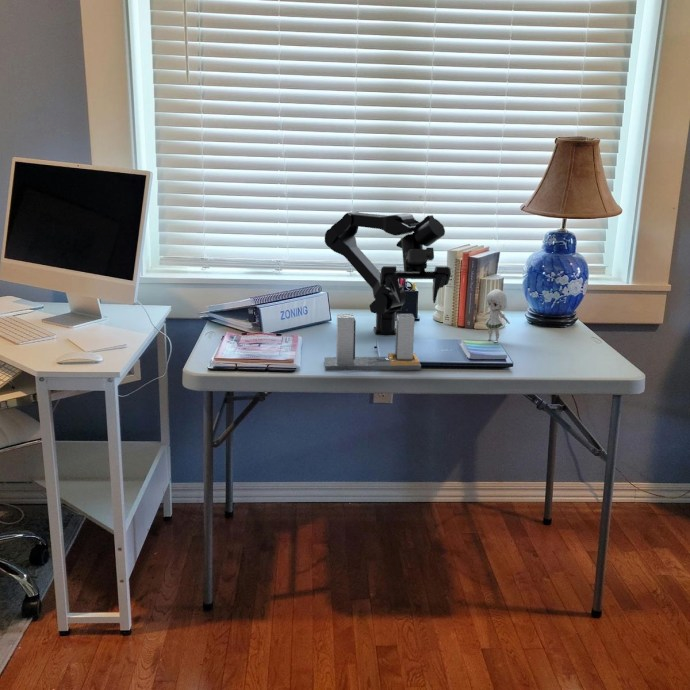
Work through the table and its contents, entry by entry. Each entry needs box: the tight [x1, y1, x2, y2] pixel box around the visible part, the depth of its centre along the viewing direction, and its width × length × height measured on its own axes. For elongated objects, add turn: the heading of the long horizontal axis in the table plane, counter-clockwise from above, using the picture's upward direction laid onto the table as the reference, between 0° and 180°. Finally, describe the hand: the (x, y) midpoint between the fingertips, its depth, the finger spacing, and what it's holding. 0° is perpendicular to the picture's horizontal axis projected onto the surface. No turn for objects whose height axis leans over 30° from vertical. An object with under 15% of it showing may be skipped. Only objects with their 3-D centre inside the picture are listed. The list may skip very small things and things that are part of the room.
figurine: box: [481, 288, 511, 343], centre depth 219 cm, size 10×6×15 cm, turn 40°
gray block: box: [394, 313, 415, 361], centre depth 196 cm, size 4×4×12 cm
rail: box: [324, 313, 422, 371], centre depth 196 cm, size 7×24×13 cm, turn 94°
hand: (417, 302), depth 207 cm, fingers open, 9 cm apart
